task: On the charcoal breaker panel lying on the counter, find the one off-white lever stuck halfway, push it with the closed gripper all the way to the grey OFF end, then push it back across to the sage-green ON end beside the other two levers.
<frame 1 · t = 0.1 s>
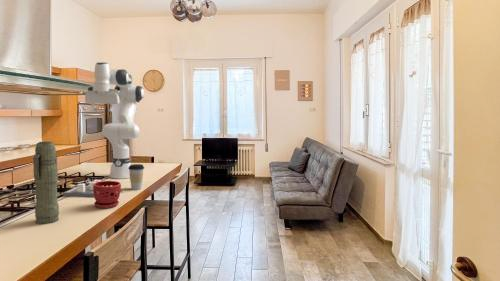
hand: (102, 111, 208), 48 cm above the table, tool pointing down, fingers open, 8 cm apart
tripped lever: (81, 187, 190), point 4 cm above the table, slide at 4.0 cm
coffee cup: (136, 189, 210), on the table
inner lever: (97, 183, 201), point 4 cm above the table, slide at 8.0 cm
plant pot: (107, 206, 173), on the table
middle lever: (92, 185, 196), point 4 cm above the table, slide at 8.0 cm
breaker panel: (86, 193, 196), on the table
thermos: (47, 221, 148), on the table
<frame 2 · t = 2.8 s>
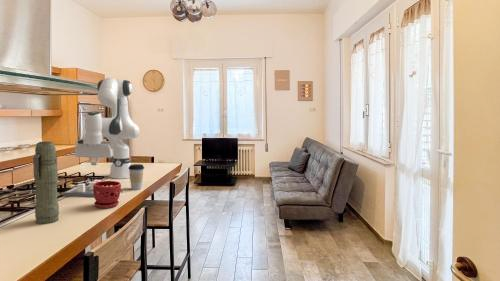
hand: (94, 165, 189), 18 cm above the table, tool pointing down, fingers closed
nothing on the table moved.
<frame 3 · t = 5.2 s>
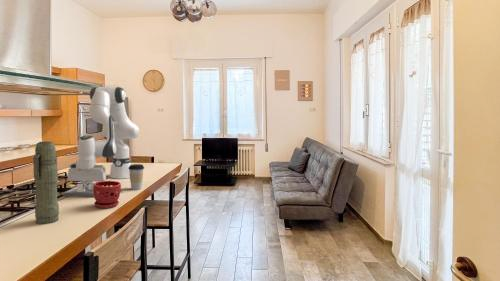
hand: (87, 188, 190), 4 cm above the table, tool pointing down, fingers closed
tripped lever: (81, 187, 190), point 4 cm above the table, slide at 3.8 cm, touching gripper
everything else where it was.
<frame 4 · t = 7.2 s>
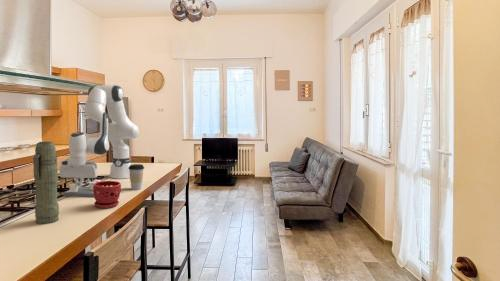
hand: (79, 185, 191), 6 cm above the table, tool pointing down, fingers closed
tripped lever: (73, 187, 190), point 4 cm above the table, slide at -0.3 cm, touching gripper
everything else where it was.
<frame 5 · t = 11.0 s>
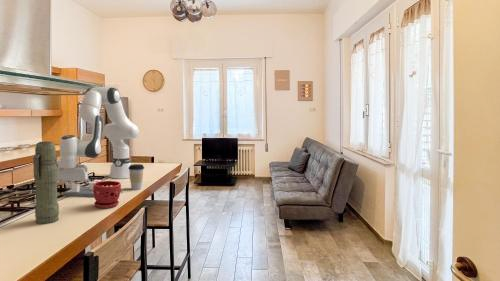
hand: (69, 188, 190), 4 cm above the table, tool pointing down, fingers closed
tripped lever: (75, 187, 190), point 4 cm above the table, slide at 0.7 cm, touching gripper
everything else where it was.
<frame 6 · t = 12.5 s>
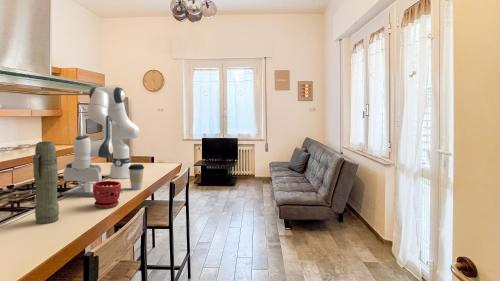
hand: (83, 188, 190), 4 cm above the table, tool pointing down, fingers closed
tripped lever: (88, 188, 190), point 4 cm above the table, slide at 8.1 cm, touching gripper
everything else where it was.
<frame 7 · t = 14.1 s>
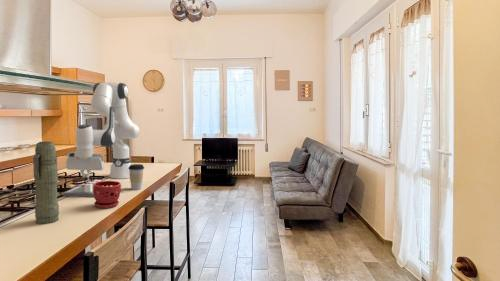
hand: (85, 177, 190), 10 cm above the table, tool pointing down, fingers closed
tripped lever: (88, 188, 190), point 4 cm above the table, slide at 8.1 cm
everything else where it was.
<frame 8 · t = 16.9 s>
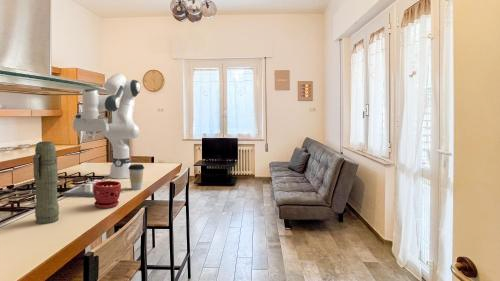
hand: (91, 138, 203), 31 cm above the table, tool pointing down, fingers closed
nothing on the table moved.
at the end: tripped lever slide at 8.1 cm; middle lever slide at 8.0 cm; inner lever slide at 8.0 cm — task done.
